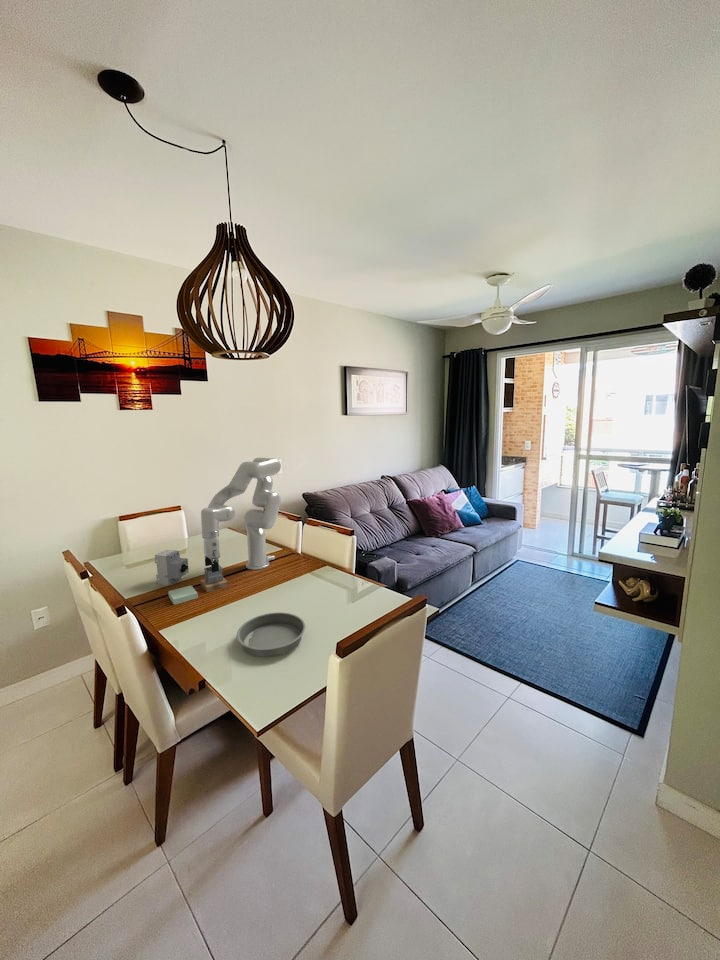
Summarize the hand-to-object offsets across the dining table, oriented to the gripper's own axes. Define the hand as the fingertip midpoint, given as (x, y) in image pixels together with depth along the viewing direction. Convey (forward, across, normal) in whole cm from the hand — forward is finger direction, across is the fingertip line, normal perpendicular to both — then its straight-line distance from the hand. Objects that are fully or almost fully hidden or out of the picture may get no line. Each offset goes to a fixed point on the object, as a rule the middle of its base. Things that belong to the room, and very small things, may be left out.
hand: (211, 568), depth 182 cm
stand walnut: (+9, 0, -1) cm, 9 cm away
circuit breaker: (+10, +17, +13) cm, 24 cm away
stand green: (+10, -3, +14) cm, 17 cm away
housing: (+7, 0, -1) cm, 7 cm away
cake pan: (+10, -59, -3) cm, 60 cm away
